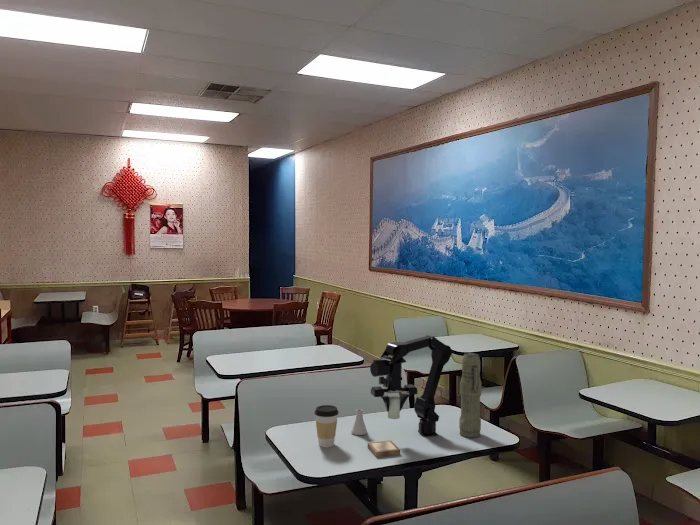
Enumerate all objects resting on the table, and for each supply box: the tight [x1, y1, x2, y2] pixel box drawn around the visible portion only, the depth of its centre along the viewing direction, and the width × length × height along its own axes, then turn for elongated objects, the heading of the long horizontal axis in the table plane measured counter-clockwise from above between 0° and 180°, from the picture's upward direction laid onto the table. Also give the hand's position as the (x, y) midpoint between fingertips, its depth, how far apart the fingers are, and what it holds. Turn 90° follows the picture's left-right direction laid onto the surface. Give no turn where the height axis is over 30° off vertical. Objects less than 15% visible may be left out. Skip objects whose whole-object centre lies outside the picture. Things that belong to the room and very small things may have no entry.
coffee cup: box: [313, 404, 339, 448], centre depth 229 cm, size 10×10×15 cm
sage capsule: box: [387, 395, 401, 420], centre depth 233 cm, size 5×5×8 cm
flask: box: [350, 408, 368, 436], centre depth 243 cm, size 7×7×10 cm
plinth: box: [367, 439, 401, 458], centre depth 223 cm, size 10×10×2 cm
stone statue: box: [458, 352, 482, 439], centre depth 241 cm, size 9×12×35 cm
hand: (393, 411), depth 233 cm, fingers closed on sage capsule, 5 cm apart
